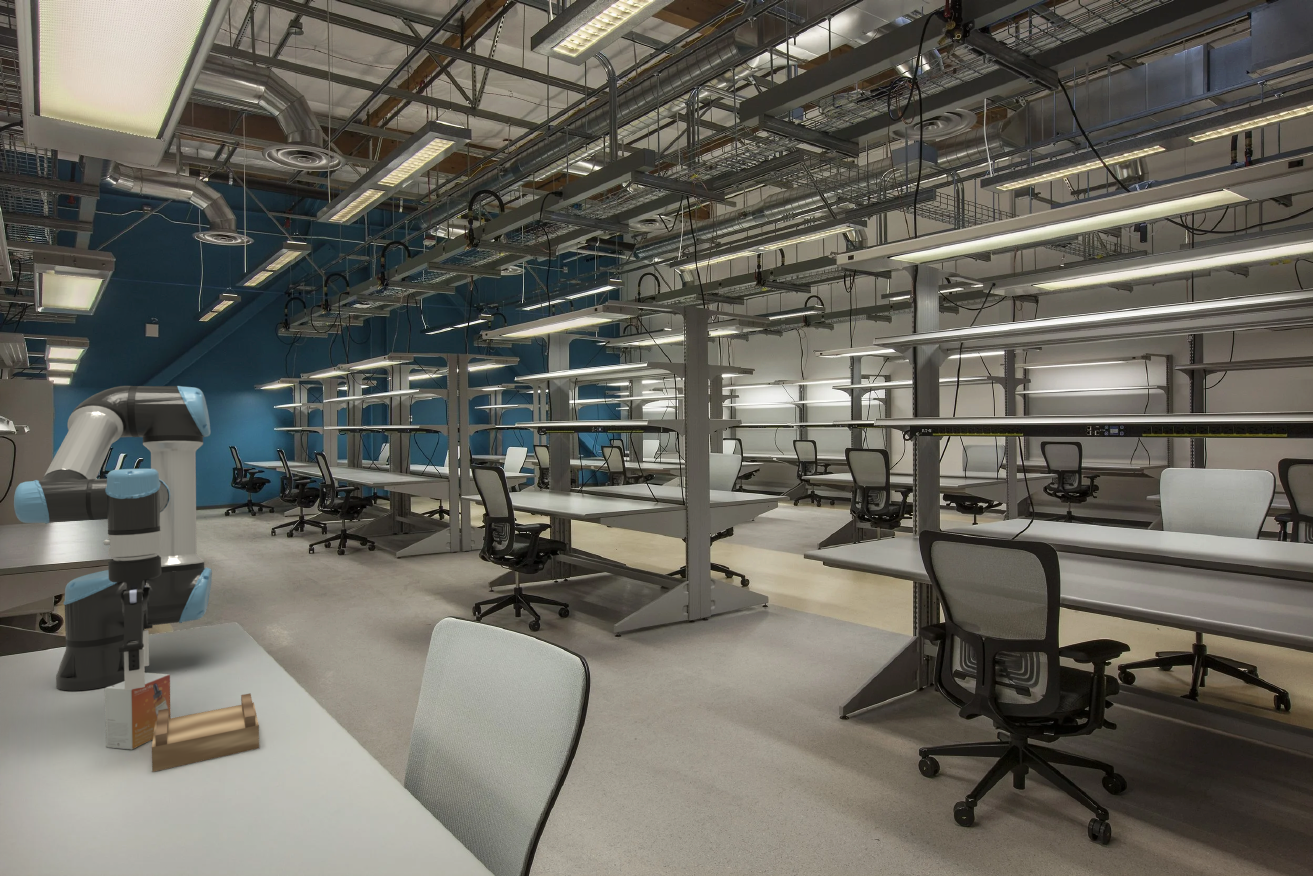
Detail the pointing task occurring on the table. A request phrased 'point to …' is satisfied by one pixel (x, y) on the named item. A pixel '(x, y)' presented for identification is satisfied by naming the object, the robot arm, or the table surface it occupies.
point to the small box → (135, 711)
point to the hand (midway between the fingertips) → (137, 677)
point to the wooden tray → (204, 735)
